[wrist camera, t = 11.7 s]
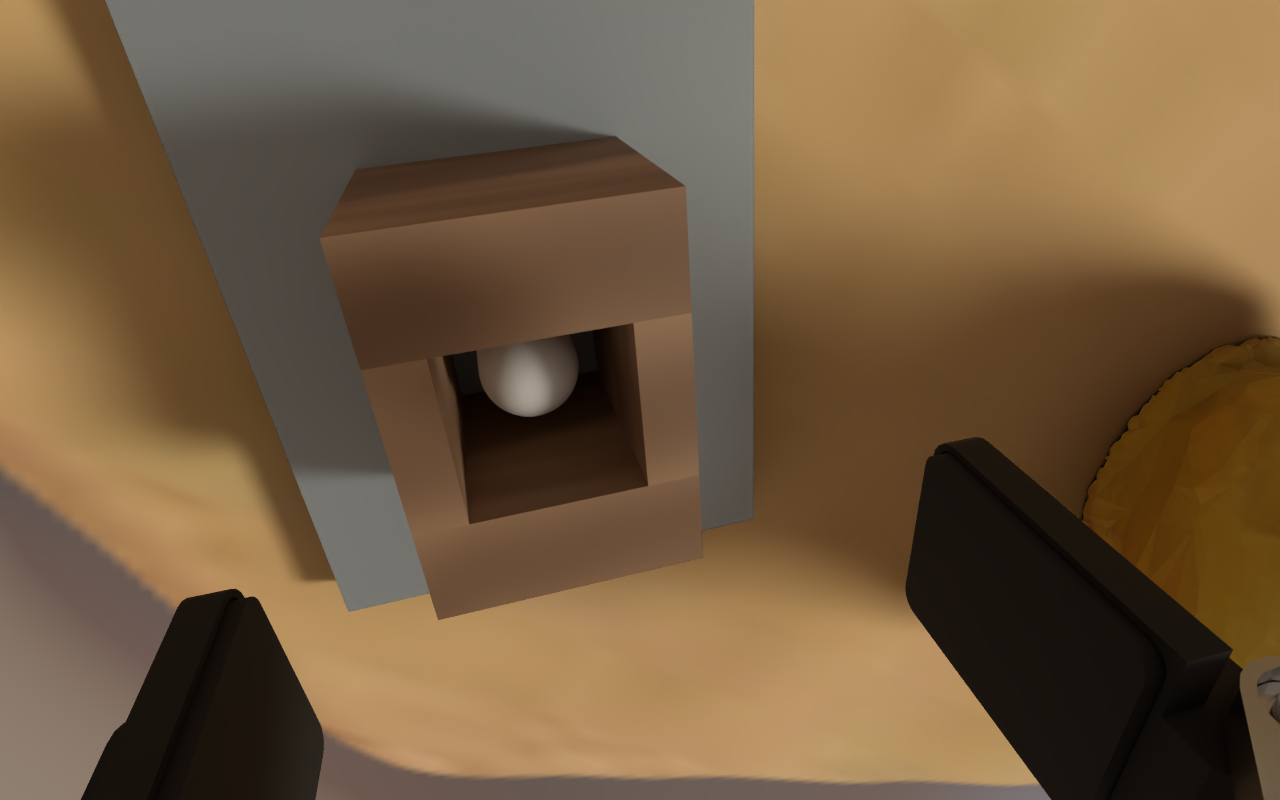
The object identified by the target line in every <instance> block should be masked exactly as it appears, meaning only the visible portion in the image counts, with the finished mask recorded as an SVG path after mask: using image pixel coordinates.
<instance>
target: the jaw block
mask: <svg viewBox="0 0 1280 800" xmlns="http://www.w3.org/2000/svg"><path fill="white" fill-rule="evenodd" d="M319 239H320V242H321V245H322V249H323V252H324V255H325V258H326V261H327V265H328V268H329V271H330V274H331V277H332V281H333V284H334V287H335V290H336V293H337V297H338V300H339V303H340V306H341V310H342V313H343V316H344V319H345V322H346V326H347V329H348V332H349V335H350V338H351V342H352V345H353V348H354V351H355V354H356V358H357V361H358V364H359V367H360V371H361V374H362V377H363V380H364V383H365V387H366V390H367V393H368V396H369V399H370V403H371V406H372V409H373V412H374V415H375V419H376V422H377V425H378V428H379V432H380V435H381V438H382V441H383V444H384V448H385V451H386V454H387V457H388V460H389V464H390V467H391V470H392V473H393V476H394V480H395V483H396V486H397V489H398V492H399V496H400V499H401V502H402V505H403V509H404V512H405V515H406V518H407V521H408V525H409V528H410V531H411V534H412V537H413V541H414V544H415V547H416V550H417V553H418V557H419V560H420V563H421V566H422V570H423V573H424V576H425V579H426V582H427V586H428V589H429V592H430V595H431V598H432V602H433V605H434V608H435V611H436V614H437V618H438V620H441V619H445V618H449V617H453V616H458V615H462V614H466V613H470V612H475V611H479V610H483V609H487V608H491V607H496V606H500V605H504V604H508V603H513V602H517V601H521V600H525V599H530V598H534V597H538V596H542V595H546V594H551V593H555V592H559V591H563V590H568V589H572V588H576V587H580V586H585V585H589V584H593V583H597V582H601V581H606V580H610V579H614V578H618V577H623V576H627V575H631V574H635V573H640V572H644V571H648V570H652V569H656V568H661V567H665V566H669V565H673V564H678V563H682V562H686V561H690V560H695V559H699V558H703V550H702V528H701V506H700V484H699V463H698V441H697V419H696V397H695V375H694V354H693V332H692V310H691V288H690V266H689V245H688V223H687V201H686V186H685V185H683V184H682V183H681V182H679V181H678V180H676V179H675V178H674V177H672V176H671V175H669V174H668V173H667V172H665V171H664V170H662V169H661V168H660V167H658V166H657V165H655V164H654V163H653V162H651V161H650V160H648V159H647V158H646V157H644V156H643V155H641V154H640V153H639V152H637V151H636V150H634V149H633V148H632V147H630V146H629V145H627V144H626V143H625V142H623V141H622V140H620V139H619V138H618V137H616V136H615V137H607V138H599V139H592V140H584V141H576V142H568V143H560V144H552V145H544V146H536V147H528V148H520V149H513V150H505V151H497V152H489V153H481V154H473V155H465V156H457V157H449V158H441V159H433V160H426V161H418V162H410V163H402V164H394V165H386V166H378V167H370V168H362V169H355V171H354V173H353V175H352V177H351V179H350V181H349V183H348V185H347V186H346V188H345V190H344V192H343V194H342V196H341V198H340V200H339V202H338V203H337V205H336V207H335V209H334V211H333V213H332V215H331V217H330V219H329V220H328V222H327V224H326V226H325V228H324V230H323V232H322V234H321V236H320V237H319ZM590 330H593V336H594V345H595V353H596V361H597V369H598V371H593V372H588V373H582V374H578V378H577V382H576V385H575V387H574V389H573V391H572V393H571V395H570V396H569V397H568V399H567V400H566V401H565V402H564V403H563V404H562V405H561V406H559V407H558V408H556V409H555V410H553V411H551V412H549V413H547V414H544V415H540V416H534V417H524V416H518V415H514V414H511V413H509V412H506V411H504V410H503V409H501V408H500V407H498V406H497V405H496V404H495V403H494V402H493V401H492V400H491V399H490V398H489V397H488V395H487V394H486V392H479V393H474V394H468V395H463V396H462V394H461V390H460V386H459V382H458V377H457V373H456V369H455V365H454V360H453V356H452V354H458V353H464V352H469V351H475V350H481V349H487V348H492V347H498V346H504V345H510V344H516V343H521V342H527V341H533V340H539V339H544V338H550V337H556V336H562V335H567V334H573V333H579V332H585V331H590Z"/></svg>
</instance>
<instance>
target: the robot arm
mask: <svg viewBox="0 0 1280 800" xmlns="http://www.w3.org/2000/svg"><path fill="white" fill-rule="evenodd" d="M906 596H907V600H908V603H909V605H910V607H911V609H912V611H913V612H914V614H915V615H916V616H917V618H918V619H919V620H920V622H921V623H922V625H923V626H924V627H925V629H926V630H927V631H928V633H929V634H930V635H931V637H932V638H933V639H934V641H935V642H936V644H937V645H938V646H939V648H940V649H941V650H942V652H943V653H944V654H945V656H946V657H947V658H948V660H949V661H950V663H951V664H952V665H953V667H954V668H955V669H956V671H957V672H958V673H959V675H960V676H961V678H962V679H963V680H964V682H965V683H966V684H967V686H968V687H969V688H970V690H971V691H972V692H973V694H974V695H975V697H976V698H977V699H978V701H979V702H980V703H981V705H982V706H983V707H984V709H985V710H986V711H987V713H988V714H989V716H990V717H991V718H992V720H993V721H994V722H995V724H996V725H997V726H998V728H999V729H1000V730H1001V732H1002V733H1003V735H1004V736H1005V737H1006V739H1007V740H1008V741H1009V743H1010V744H1011V745H1012V747H1013V748H1014V749H1015V751H1016V752H1017V754H1018V755H1019V756H1020V758H1021V759H1022V760H1023V762H1024V763H1025V764H1026V766H1027V767H1028V769H1029V770H1030V771H1031V773H1032V774H1033V775H1034V777H1035V778H1036V779H1037V781H1038V782H1039V783H1040V785H1041V786H1042V788H1043V789H1044V790H1045V792H1046V793H1047V794H1048V796H1049V797H1050V798H1051V800H1280V656H1271V657H1262V658H1259V659H1257V660H1254V661H1252V662H1249V663H1248V664H1247V665H1246V667H1245V668H1244V669H1242V668H1241V667H1240V666H1239V665H1237V664H1236V663H1235V662H1234V661H1233V660H1232V659H1230V658H1229V657H1230V655H1231V653H1232V651H1233V649H1232V648H1231V647H1230V646H1228V645H1227V644H1226V643H1225V642H1224V641H1223V640H1221V639H1220V638H1219V637H1218V636H1217V635H1215V634H1214V633H1213V632H1212V631H1211V630H1210V629H1208V628H1207V627H1206V626H1205V625H1204V624H1202V623H1201V622H1200V621H1199V620H1198V619H1197V618H1195V617H1194V616H1193V615H1192V614H1191V613H1189V612H1188V611H1187V610H1186V609H1185V608H1184V607H1182V606H1181V605H1180V604H1179V603H1178V602H1176V601H1175V600H1174V599H1173V598H1172V597H1171V596H1169V595H1168V594H1167V593H1166V592H1165V591H1164V590H1162V589H1161V588H1160V587H1159V586H1158V585H1156V584H1155V583H1154V582H1153V581H1152V580H1151V579H1149V578H1148V577H1147V576H1146V575H1145V574H1143V573H1142V572H1141V571H1140V570H1139V569H1138V568H1136V567H1135V566H1134V565H1133V564H1132V563H1130V562H1129V561H1128V560H1127V559H1126V558H1125V557H1123V556H1122V555H1121V554H1120V553H1119V552H1117V551H1116V550H1115V549H1114V548H1113V547H1112V546H1110V545H1109V544H1108V543H1107V542H1106V541H1104V540H1103V539H1102V538H1101V537H1100V536H1099V535H1097V534H1096V533H1095V532H1094V531H1093V530H1092V529H1090V528H1089V527H1088V526H1087V525H1086V524H1084V523H1083V522H1082V521H1081V520H1080V519H1079V518H1077V517H1076V516H1075V515H1074V514H1073V513H1071V512H1070V511H1069V510H1068V509H1067V508H1066V507H1064V506H1063V505H1062V504H1061V503H1060V502H1058V501H1057V500H1056V499H1055V498H1054V497H1053V496H1051V495H1050V494H1049V493H1048V492H1047V491H1045V490H1044V489H1043V488H1042V487H1041V486H1040V485H1038V484H1037V483H1036V482H1035V481H1034V480H1033V479H1031V478H1030V477H1029V476H1028V475H1027V474H1025V473H1024V472H1023V471H1022V470H1021V469H1020V468H1018V467H1017V466H1016V465H1015V464H1014V463H1012V462H1011V461H1010V460H1009V459H1008V458H1007V457H1005V456H1004V455H1003V454H1002V453H1001V452H999V451H998V450H997V449H996V448H995V447H994V446H992V445H991V444H990V443H989V442H988V441H986V440H984V439H983V438H979V437H974V438H969V439H964V440H959V441H954V442H949V443H945V444H942V445H939V446H938V447H937V449H936V450H935V453H934V456H931V457H929V458H928V460H927V462H926V465H925V471H924V477H923V483H922V489H921V495H920V501H919V507H918V514H917V520H916V526H915V532H914V538H913V544H912V550H911V556H910V562H909V568H908V575H907V581H906ZM323 750H324V740H323V732H322V728H321V725H320V723H319V721H318V719H317V717H316V715H315V713H314V711H313V709H312V706H311V704H310V702H309V700H308V698H307V696H306V694H305V692H304V690H303V688H302V686H301V684H300V682H299V680H298V678H297V676H296V674H295V672H294V670H293V668H292V666H291V664H290V662H289V660H288V658H287V656H286V654H285V652H284V650H283V648H282V646H281V644H280V642H279V640H278V638H277V636H276V634H275V632H274V630H273V628H272V626H271V624H270V622H269V620H268V618H267V616H266V614H265V612H264V610H263V608H262V606H261V604H260V602H259V601H258V599H257V598H255V597H248V598H244V596H243V595H242V593H241V592H240V591H238V590H237V589H229V590H224V591H219V592H214V593H210V594H205V595H200V596H195V597H190V598H186V599H185V600H183V601H182V602H181V603H180V605H179V606H178V608H177V610H176V612H175V614H174V617H173V619H172V621H171V623H170V625H169V628H168V630H167V632H166V634H165V637H164V639H163V641H162V643H161V646H160V648H159V650H158V652H157V654H156V656H155V659H154V661H153V663H152V665H151V667H150V670H149V672H148V674H147V676H146V678H145V681H144V683H143V685H142V687H141V690H140V692H139V694H138V696H137V698H136V701H135V703H134V705H133V708H132V709H131V712H130V714H129V716H128V718H127V720H126V722H125V723H123V724H122V725H121V726H120V727H119V728H118V729H117V730H116V731H115V732H114V733H113V735H112V736H111V738H110V740H109V742H108V743H107V745H106V747H105V749H104V751H103V753H102V755H101V757H100V760H99V762H98V764H97V766H96V768H95V771H94V773H93V775H92V777H91V779H90V781H89V783H88V785H87V788H86V790H85V792H84V794H83V796H82V798H81V800H315V798H316V792H317V787H318V781H319V775H320V770H321V764H322V758H323Z"/></svg>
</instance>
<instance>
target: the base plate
mask: <svg viewBox="0 0 1280 800" xmlns="http://www.w3.org/2000/svg"><path fill="white" fill-rule="evenodd" d="M105 1H106V4H107V6H108V9H109V11H110V14H111V16H112V19H113V21H114V24H115V27H116V29H117V32H118V34H119V37H120V39H121V42H122V44H123V47H124V49H125V52H126V54H127V57H128V59H129V62H130V64H131V67H132V69H133V72H134V74H135V77H136V79H137V82H138V84H139V87H140V89H141V92H142V94H143V97H144V99H145V102H146V104H147V107H148V109H149V112H150V114H151V117H152V119H153V122H154V124H155V127H156V130H157V132H158V135H159V137H160V140H161V142H162V145H163V147H164V150H165V152H166V155H167V157H168V160H169V162H170V165H171V167H172V170H173V172H174V175H175V177H176V180H177V182H178V185H179V187H180V190H181V192H182V195H183V197H184V200H185V202H186V205H187V207H188V210H189V212H190V215H191V217H192V220H193V222H194V225H195V227H196V230H197V233H198V235H199V238H200V240H201V243H202V245H203V248H204V250H205V253H206V255H207V258H208V260H209V263H210V265H211V268H212V270H213V273H214V275H215V278H216V280H217V283H218V285H219V288H220V290H221V293H222V295H223V298H224V300H225V303H226V305H227V308H228V310H229V313H230V315H231V318H232V320H233V323H234V325H235V328H236V331H237V333H238V336H239V338H240V341H241V343H242V346H243V348H244V351H245V353H246V356H247V358H248V361H249V363H250V366H251V368H252V371H253V373H254V376H255V378H256V381H257V383H258V386H259V388H260V391H261V393H262V396H263V398H264V401H265V403H266V406H267V408H268V411H269V413H270V416H271V418H272V421H273V423H274V426H275V428H276V431H277V434H278V436H279V439H280V441H281V444H282V446H283V449H284V451H285V454H286V456H287V459H288V461H289V464H290V466H291V469H292V471H293V474H294V476H295V479H296V481H297V484H298V486H299V489H300V491H301V494H302V496H303V499H304V501H305V504H306V506H307V509H308V511H309V514H310V516H311V519H312V521H313V524H314V526H315V529H316V531H317V534H318V537H319V539H320V542H321V544H322V547H323V549H324V552H325V554H326V557H327V559H328V562H329V564H330V567H331V569H332V572H333V574H334V577H335V579H336V582H337V584H338V587H339V589H340V592H341V594H342V597H343V599H344V602H345V604H346V607H347V609H348V612H350V611H355V610H359V609H363V608H368V607H372V606H377V605H381V604H385V603H390V602H394V601H398V600H403V599H407V598H411V597H416V596H420V595H424V594H429V593H430V592H429V589H428V586H427V582H426V579H425V576H424V573H423V570H422V566H421V563H420V560H419V557H418V553H417V550H416V547H415V544H414V541H413V537H412V534H411V531H410V528H409V525H408V521H407V518H406V515H405V512H404V509H403V505H402V502H401V499H400V496H399V492H398V489H397V486H396V483H395V480H394V476H393V473H392V470H391V467H390V464H389V460H388V457H387V454H386V451H385V448H384V444H383V441H382V438H381V435H380V432H379V428H378V425H377V422H376V419H375V415H374V412H373V409H372V406H371V403H370V399H369V396H368V393H367V390H366V387H365V383H364V380H363V377H362V374H361V371H360V367H359V364H358V361H357V358H356V354H355V351H354V348H353V345H352V342H351V338H350V335H349V332H348V329H347V326H346V322H345V319H344V316H343V313H342V310H341V306H340V303H339V300H338V297H337V293H336V290H335V287H334V284H333V281H332V277H331V274H330V271H329V268H328V265H327V261H326V258H325V255H324V252H323V249H322V245H321V242H320V239H319V237H320V236H321V234H322V232H323V230H324V228H325V226H326V224H327V222H328V220H329V219H330V217H331V215H332V213H333V211H334V209H335V207H336V205H337V203H338V202H339V200H340V198H341V196H342V194H343V192H344V190H345V188H346V186H347V185H348V183H349V181H350V179H351V177H352V175H353V173H354V171H355V169H362V168H370V167H378V166H386V165H394V164H402V163H410V162H418V161H426V160H433V159H441V158H449V157H457V156H465V155H473V154H481V153H489V152H497V151H505V150H513V149H520V148H528V147H536V146H544V145H552V144H560V143H568V142H576V141H584V140H592V139H599V138H607V137H615V136H616V137H618V138H619V139H620V140H622V141H623V142H625V143H626V144H627V145H629V146H630V147H632V148H633V149H634V150H636V151H637V152H639V153H640V154H641V155H643V156H644V157H646V158H647V159H648V160H650V161H651V162H653V163H654V164H655V165H657V166H658V167H660V168H661V169H662V170H664V171H665V172H667V173H668V174H669V175H671V176H672V177H674V178H675V179H676V180H678V181H679V182H681V183H682V184H683V185H685V186H686V201H687V223H688V245H689V266H690V288H691V310H692V332H693V354H694V375H695V397H696V419H697V441H698V463H699V484H700V506H701V528H702V531H703V530H707V529H712V528H716V527H720V526H725V525H729V524H733V523H738V522H742V521H746V520H751V519H754V0H105ZM452 356H453V360H454V365H455V369H456V373H457V377H458V382H459V386H460V390H461V394H462V396H463V395H468V394H474V393H479V392H486V394H487V395H488V397H489V398H490V399H491V400H492V401H493V402H494V403H495V404H496V405H497V406H498V407H500V408H501V409H503V410H504V411H506V412H509V413H511V414H514V415H518V416H524V417H534V416H540V415H544V414H547V413H549V412H551V411H553V410H555V409H556V408H558V407H559V406H561V405H562V404H563V403H564V402H565V401H566V400H567V399H568V397H569V396H570V395H571V393H572V391H573V389H574V387H575V385H576V382H577V378H578V374H582V373H588V372H593V371H598V369H597V361H596V353H595V345H594V336H593V330H590V331H585V332H579V333H573V334H567V335H562V336H556V337H550V338H544V339H539V340H533V341H527V342H521V343H516V344H510V345H504V346H498V347H492V348H487V349H481V350H475V351H469V352H464V353H458V354H452Z"/></svg>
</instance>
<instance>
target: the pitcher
mask: <svg viewBox="0 0 1280 800" xmlns="http://www.w3.org/2000/svg"><path fill="white" fill-rule="evenodd" d="M1158 389H1159V393H1158V394H1157V395H1153V396H1152V398H1151V400H1150V401H1149V403H1147V404H1145V405H1144V406H1143V407H1142V409H1141V411H1140V413H1139V415H1136V416H1132V417H1131V419H1130V420H1129V422H1128V423H1127V425H1128V428H1129V430H1128V431H1127V432H1125V433H1123V434H1122V436H1121V439H1120V440H1119V441H1117V442H1115V443H1114V444H1113V446H1112V447H1111V448H1110V453H1108V454H1110V455H1109V456H1107V457H1105V459H1106V460H1107V461H1106V463H1105V465H1104V467H1103V468H1099V470H1098V473H1097V476H1096V477H1097V480H1095V481H1094V482H1093V483H1092V485H1091V486H1090V487H1089V489H1088V496H1089V498H1088V500H1087V501H1086V502H1085V507H1084V512H1083V517H1084V519H1083V520H1082V522H1083V523H1084V524H1086V525H1087V526H1088V527H1089V528H1090V529H1092V530H1093V531H1094V532H1095V533H1096V534H1097V535H1099V536H1100V537H1101V538H1102V539H1103V540H1104V541H1106V542H1107V543H1108V544H1109V545H1110V546H1112V547H1113V548H1114V549H1115V550H1116V551H1117V552H1119V553H1120V554H1121V555H1122V556H1123V557H1125V558H1126V559H1127V560H1128V561H1129V562H1130V563H1132V564H1133V565H1134V566H1135V567H1136V568H1138V569H1139V570H1140V571H1141V572H1142V573H1143V574H1145V575H1146V576H1147V577H1148V578H1149V579H1151V580H1152V581H1153V582H1154V583H1155V584H1156V585H1158V586H1159V587H1160V588H1161V589H1162V590H1164V591H1165V592H1166V593H1167V594H1168V595H1169V596H1171V597H1172V598H1173V599H1174V600H1175V601H1176V602H1178V603H1179V604H1180V605H1181V606H1182V607H1184V608H1185V609H1186V610H1187V611H1188V612H1189V613H1191V614H1192V615H1193V616H1194V617H1195V618H1197V619H1198V620H1199V621H1200V622H1201V623H1202V624H1204V625H1205V626H1206V627H1207V628H1208V629H1210V630H1211V631H1212V632H1213V633H1214V634H1215V635H1217V636H1218V637H1219V638H1220V639H1221V640H1223V641H1224V642H1225V643H1226V644H1227V645H1228V646H1230V647H1231V648H1232V649H1233V651H1232V653H1231V655H1230V657H1229V658H1230V659H1232V660H1233V661H1234V662H1235V663H1236V664H1237V665H1239V666H1240V667H1241V668H1242V669H1244V668H1245V667H1246V665H1247V664H1248V663H1249V662H1252V661H1254V660H1257V659H1259V658H1262V657H1271V656H1280V338H1278V339H1273V338H1272V337H1270V336H1269V337H1268V339H1262V340H1261V341H1260V340H1259V339H1258V338H1254V339H1250V340H1247V341H1245V342H1244V343H1243V344H1241V345H1240V346H1233V345H1224V346H1220V347H1219V348H1218V349H1217V348H1216V349H1214V350H1213V351H1212V352H1210V353H1209V354H1208V355H1207V356H1205V357H1204V358H1203V359H1202V360H1200V361H1198V362H1196V363H1194V364H1193V365H1192V366H1191V367H1188V368H1183V369H1182V370H1181V372H1176V373H1175V374H1174V376H1173V377H1172V378H1171V379H1170V380H1165V382H1164V384H1163V386H1162V387H1161V388H1158Z"/></svg>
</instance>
